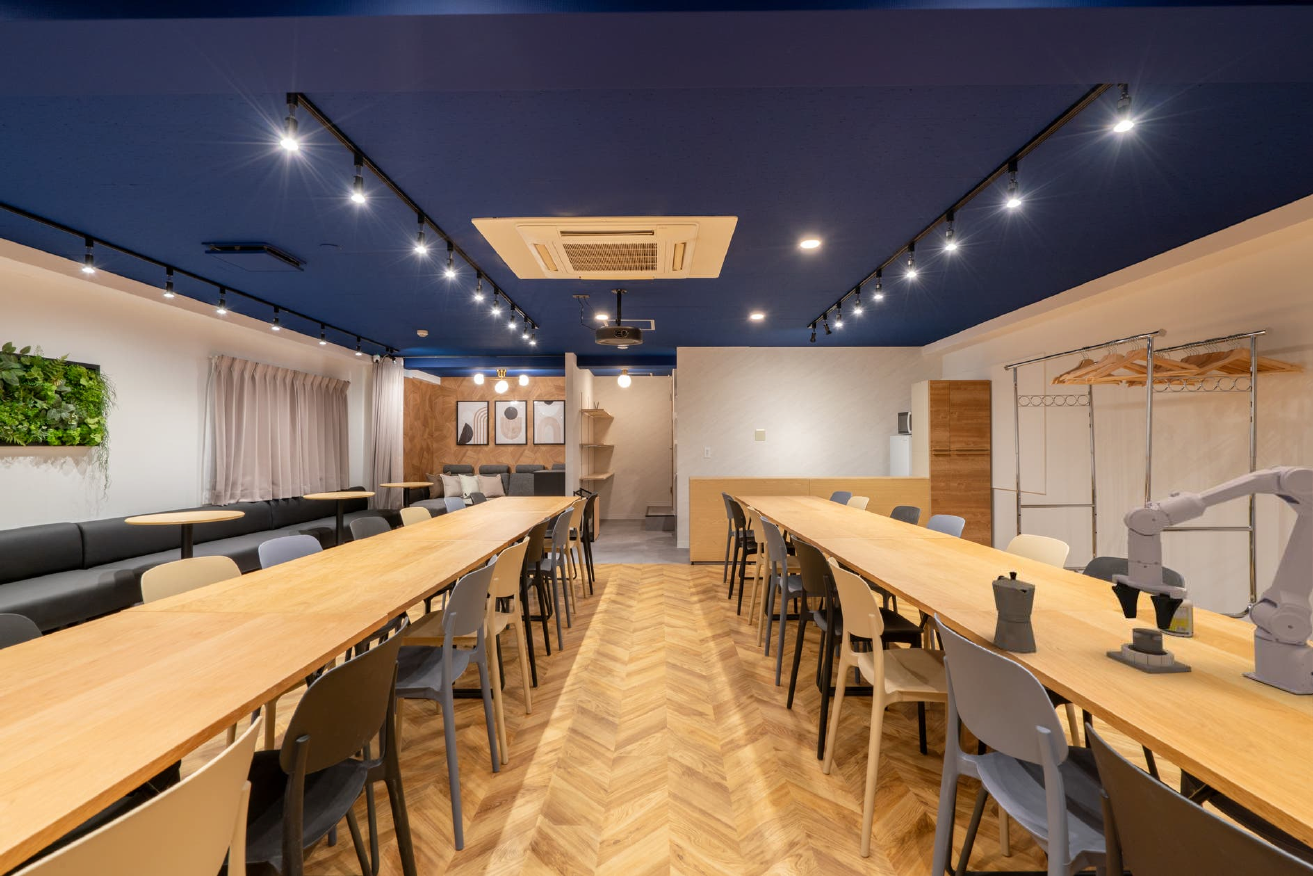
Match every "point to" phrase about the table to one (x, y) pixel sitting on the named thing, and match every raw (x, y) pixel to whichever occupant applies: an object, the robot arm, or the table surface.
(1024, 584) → the coffeepot
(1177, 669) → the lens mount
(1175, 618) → the pill bottle
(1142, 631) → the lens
